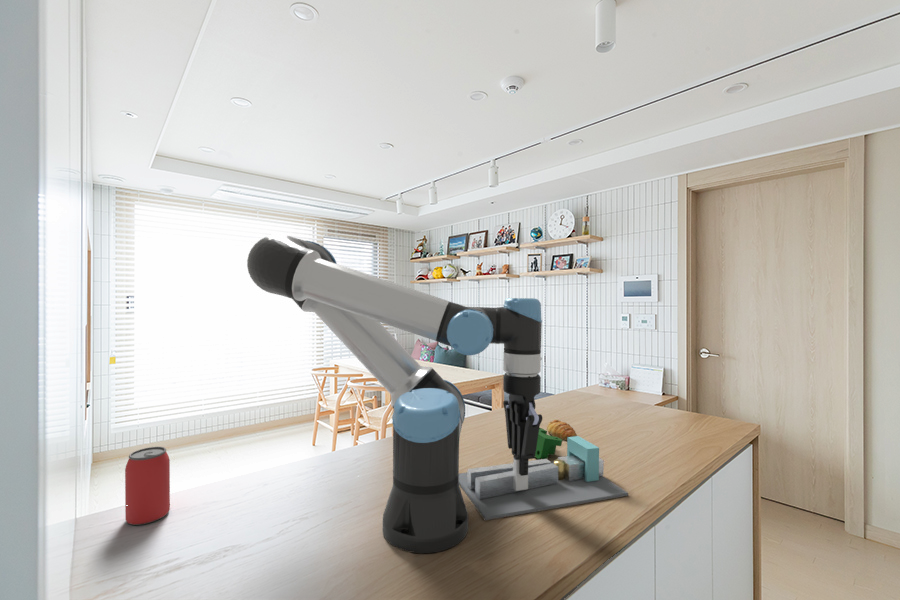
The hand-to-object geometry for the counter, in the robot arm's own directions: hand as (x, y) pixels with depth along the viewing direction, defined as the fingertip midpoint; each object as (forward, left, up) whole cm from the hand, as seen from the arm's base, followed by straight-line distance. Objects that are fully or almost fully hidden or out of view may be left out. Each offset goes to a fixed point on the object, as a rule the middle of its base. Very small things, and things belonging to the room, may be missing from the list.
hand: (520, 488), depth 84 cm
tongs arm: (0, +2, -1) cm, 2 cm away
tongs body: (+6, +4, -1) cm, 8 cm away
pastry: (+29, +30, -2) cm, 42 cm away
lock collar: (+18, +4, -1) cm, 18 cm away
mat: (+6, +3, -2) cm, 7 cm away
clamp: (+16, +20, -2) cm, 26 cm away
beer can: (-69, +13, -2) cm, 71 cm away
